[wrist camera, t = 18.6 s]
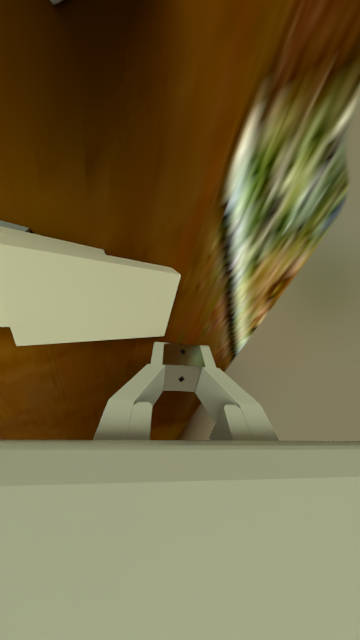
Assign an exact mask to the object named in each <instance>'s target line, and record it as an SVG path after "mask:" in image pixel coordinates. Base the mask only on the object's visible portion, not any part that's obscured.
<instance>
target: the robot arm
mask: <svg viewBox="0 0 360 640" xmlns="http://www.w3.org/2000/svg"><path fill="white" fill-rule="evenodd" d="M163 391H188V392H195V393H196V395H197V396H198V398H199V399H200V401H201V402H202V404H203V405H204V407H205V408H206V409H207V411H208V412H209V414H210V415H211V417H212V418H213V420H214V421H215V423H216V425H215V427H214V429H213V431H212V433H211V435H210V437H209V439H210V440H203V441H202V440H150V433H151V419H152V407H153V405H154V404H155V402H156V401H157V399H158V398H159V396H160V395H161V393H162V392H163ZM0 640H360V441H279V440H278V438H277V436H276V434H275V432H274V430H273V428H272V426H271V424H270V422H269V420H268V418H267V416H266V414H265V412H264V411H263V409H262V407H261V405H260V404H259V403H258V402H257V401H255V400H254V399H253V398H252V397H251V396H250V395H249V394H248V393H247V392H245V391H244V390H243V389H242V388H241V387H240V386H238V384H236V383H235V382H234V381H233V380H232V379H231V378H230V377H228V376H227V375H226V374H225V373H224V372H223V371H222V370H221V369H219V368H216V366H215V363H214V360H213V357H212V354H211V351H210V348H209V346H206V345H186V344H175V343H163V342H154V346H153V352H152V358H151V364H147V365H146V366H145V367H144V368H143V369H142V370H140V371H139V372H138V373H137V374H136V375H135V376H134V377H133V378H132V379H131V380H130V381H128V382H127V383H126V384H125V385H124V386H123V387H122V388H121V389H120V390H119V391H117V392H116V393H115V394H114V395H113V396H112V397H111V398H110V399H109V400H108V402H107V405H106V407H105V410H104V412H103V415H102V418H101V420H100V423H99V425H98V428H97V430H96V433H95V435H94V438H93V440H0Z"/></svg>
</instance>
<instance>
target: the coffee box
mask: <svg viewBox="0 0 360 640" xmlns="http://www.w3.org/2000/svg"><path fill="white" fill-rule="evenodd" d="M49 1H50V2H51V3H52V4H57V3H59V2H61V1H63V0H49Z"/></svg>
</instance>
